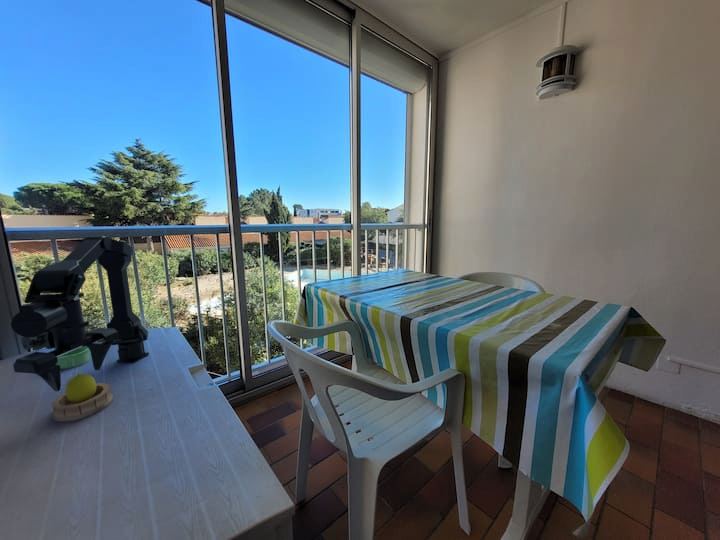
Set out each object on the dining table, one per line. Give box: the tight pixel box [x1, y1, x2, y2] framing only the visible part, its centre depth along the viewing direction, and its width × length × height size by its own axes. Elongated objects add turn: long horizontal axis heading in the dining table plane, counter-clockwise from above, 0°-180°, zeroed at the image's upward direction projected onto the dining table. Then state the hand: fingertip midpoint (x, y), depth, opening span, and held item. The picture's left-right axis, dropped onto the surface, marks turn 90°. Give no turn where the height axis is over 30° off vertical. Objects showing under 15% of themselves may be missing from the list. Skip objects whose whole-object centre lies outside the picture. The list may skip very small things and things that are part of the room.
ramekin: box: [56, 346, 91, 370], centre depth 94 cm, size 9×9×4 cm
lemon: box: [64, 373, 97, 403], centre depth 72 cm, size 6×6×8 cm
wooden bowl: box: [51, 382, 114, 423], centre depth 72 cm, size 11×11×3 cm
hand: (78, 379), depth 71 cm, fingers open, 9 cm apart
